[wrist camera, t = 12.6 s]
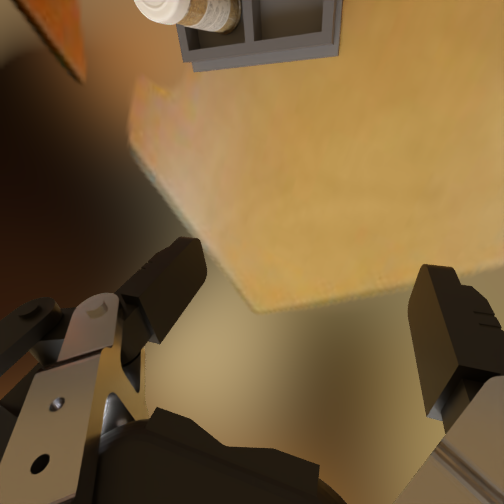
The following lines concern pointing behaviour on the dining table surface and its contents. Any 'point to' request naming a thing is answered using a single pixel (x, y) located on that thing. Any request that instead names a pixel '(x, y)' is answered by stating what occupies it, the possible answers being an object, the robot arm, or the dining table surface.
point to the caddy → (267, 35)
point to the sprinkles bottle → (194, 13)
